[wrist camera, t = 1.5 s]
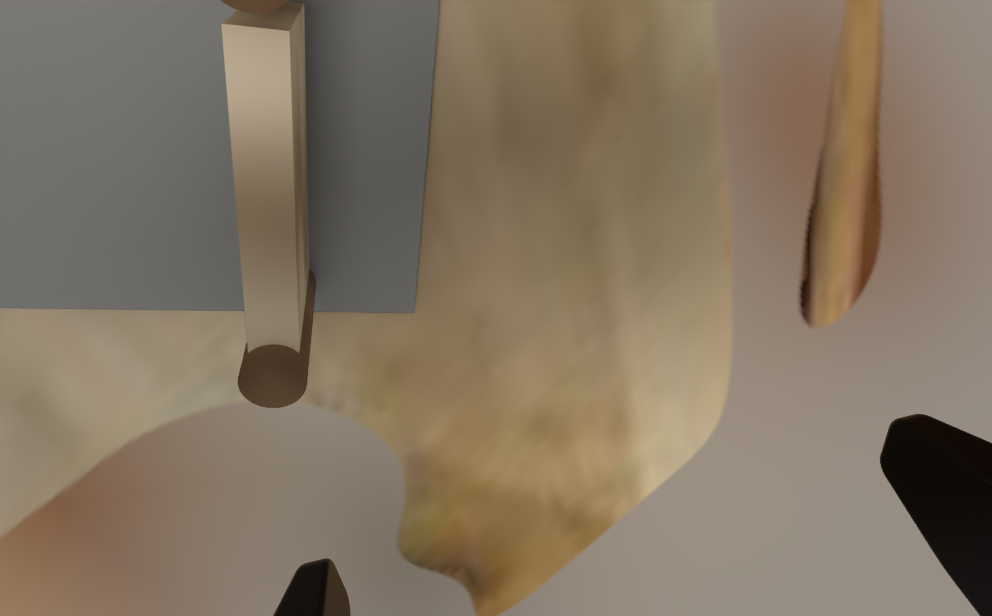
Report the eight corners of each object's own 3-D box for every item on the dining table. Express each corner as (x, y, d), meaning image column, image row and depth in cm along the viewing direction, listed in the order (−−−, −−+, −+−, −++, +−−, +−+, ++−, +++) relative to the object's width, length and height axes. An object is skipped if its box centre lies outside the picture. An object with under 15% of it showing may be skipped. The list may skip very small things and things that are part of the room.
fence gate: (316, 305, 20) (307, 407, 16) (263, 304, 20) (240, 408, 16) (312, 4, 16) (298, 36, 11) (244, -4, 15) (203, 26, 11)
